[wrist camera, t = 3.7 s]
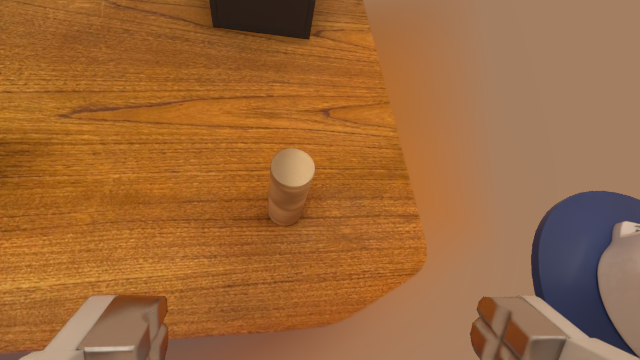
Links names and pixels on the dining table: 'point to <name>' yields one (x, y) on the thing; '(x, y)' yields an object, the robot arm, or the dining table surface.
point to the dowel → (289, 185)
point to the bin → (265, 16)
